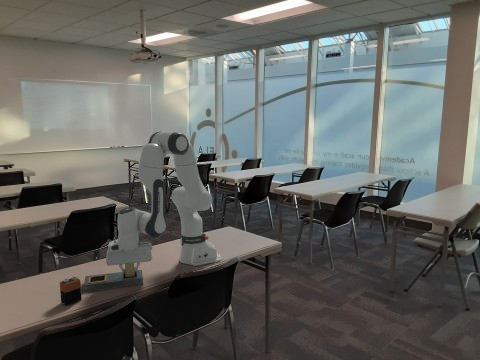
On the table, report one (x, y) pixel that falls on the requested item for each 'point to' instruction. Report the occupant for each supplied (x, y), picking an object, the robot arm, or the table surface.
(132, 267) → the brass block
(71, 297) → the battery
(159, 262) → the table surface
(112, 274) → the grey socket board
